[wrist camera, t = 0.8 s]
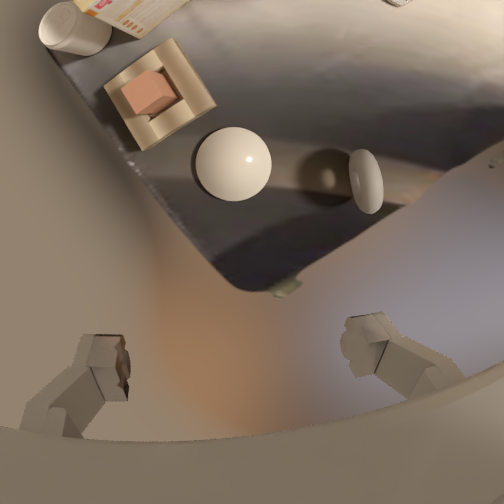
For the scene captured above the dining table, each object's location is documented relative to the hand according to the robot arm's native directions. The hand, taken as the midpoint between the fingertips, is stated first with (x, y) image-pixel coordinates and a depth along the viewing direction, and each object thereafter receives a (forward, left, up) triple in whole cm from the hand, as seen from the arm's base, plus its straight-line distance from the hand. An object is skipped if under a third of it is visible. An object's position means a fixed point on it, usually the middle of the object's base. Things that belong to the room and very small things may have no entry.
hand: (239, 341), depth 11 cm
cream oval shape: (+4, -1, -43) cm, 43 cm away
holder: (+8, -17, -43) cm, 47 cm away
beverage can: (+13, -35, -44) cm, 57 cm away
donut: (-13, +10, -44) cm, 46 cm away
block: (+8, -17, -42) cm, 46 cm away
